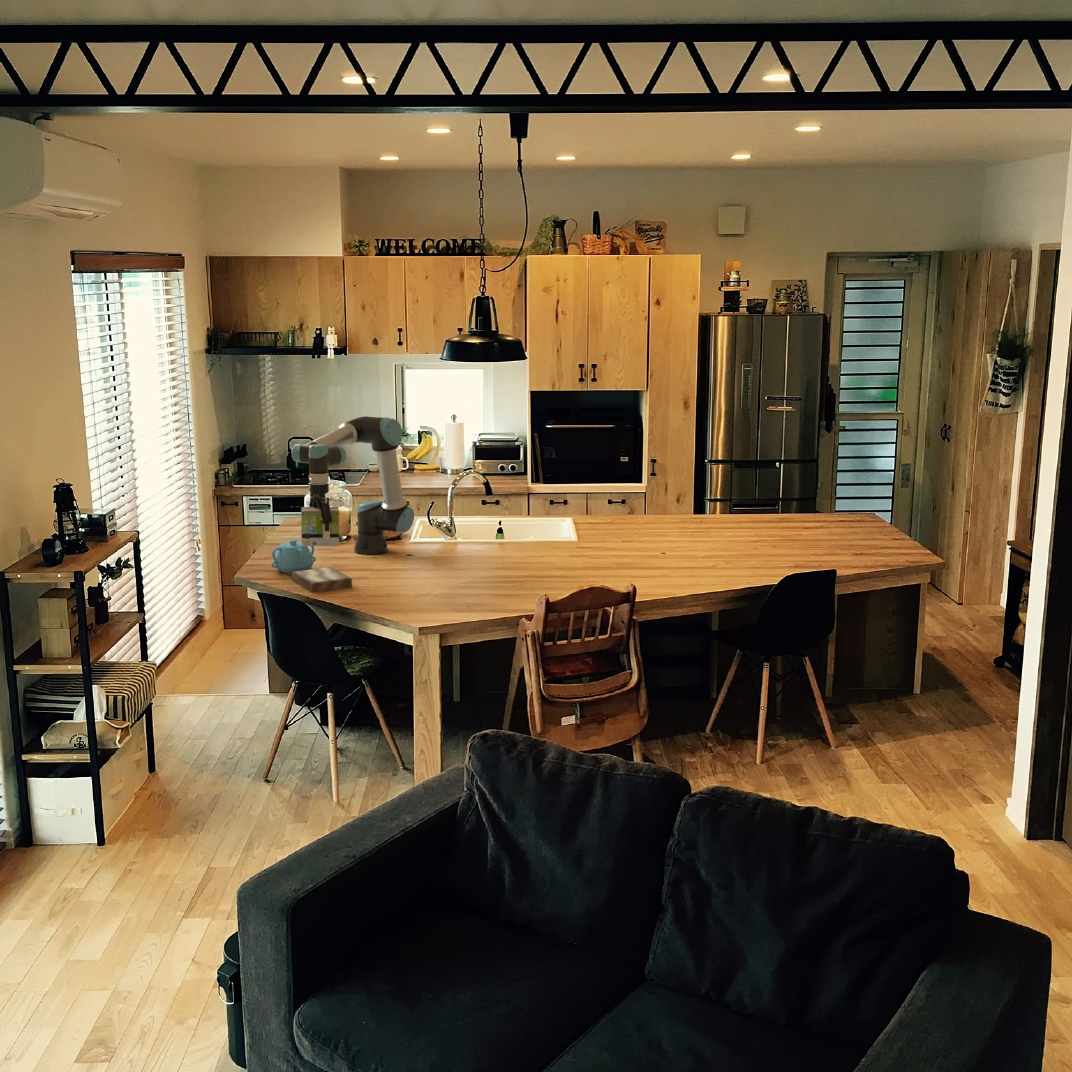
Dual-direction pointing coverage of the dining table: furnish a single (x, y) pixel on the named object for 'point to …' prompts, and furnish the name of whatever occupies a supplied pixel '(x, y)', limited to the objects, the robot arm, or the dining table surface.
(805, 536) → the dining table surface
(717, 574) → the dining table surface
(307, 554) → the decorative pot
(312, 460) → the robot arm
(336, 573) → the tray
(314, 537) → the tea box
